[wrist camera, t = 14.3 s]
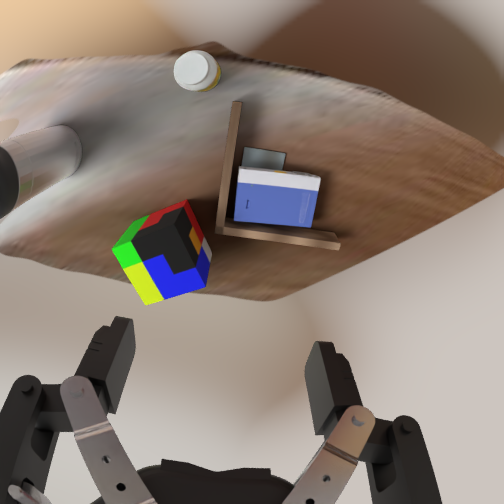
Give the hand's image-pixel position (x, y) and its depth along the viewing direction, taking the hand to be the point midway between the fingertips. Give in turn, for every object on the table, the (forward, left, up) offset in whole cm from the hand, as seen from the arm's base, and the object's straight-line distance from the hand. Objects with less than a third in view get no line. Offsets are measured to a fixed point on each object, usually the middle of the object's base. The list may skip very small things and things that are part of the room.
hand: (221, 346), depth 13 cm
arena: (+8, 0, -36) cm, 37 cm away
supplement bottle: (-7, +13, -36) cm, 39 cm away
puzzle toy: (-9, -13, -36) cm, 40 cm away
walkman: (0, -3, -34) cm, 34 cm away
